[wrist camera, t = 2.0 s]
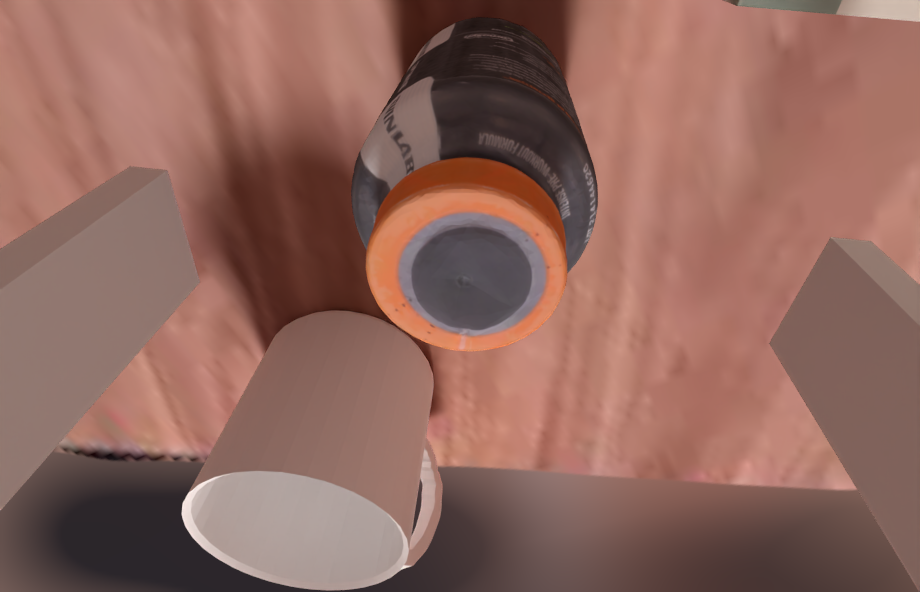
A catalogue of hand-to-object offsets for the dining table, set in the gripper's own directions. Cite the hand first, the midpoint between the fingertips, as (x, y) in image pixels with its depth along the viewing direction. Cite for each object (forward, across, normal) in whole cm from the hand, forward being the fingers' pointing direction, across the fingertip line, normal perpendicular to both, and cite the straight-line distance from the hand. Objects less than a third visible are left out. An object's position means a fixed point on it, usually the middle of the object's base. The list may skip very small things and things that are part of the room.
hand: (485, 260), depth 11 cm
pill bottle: (+10, -1, 0) cm, 11 cm away
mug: (+10, -6, -16) cm, 20 cm away
